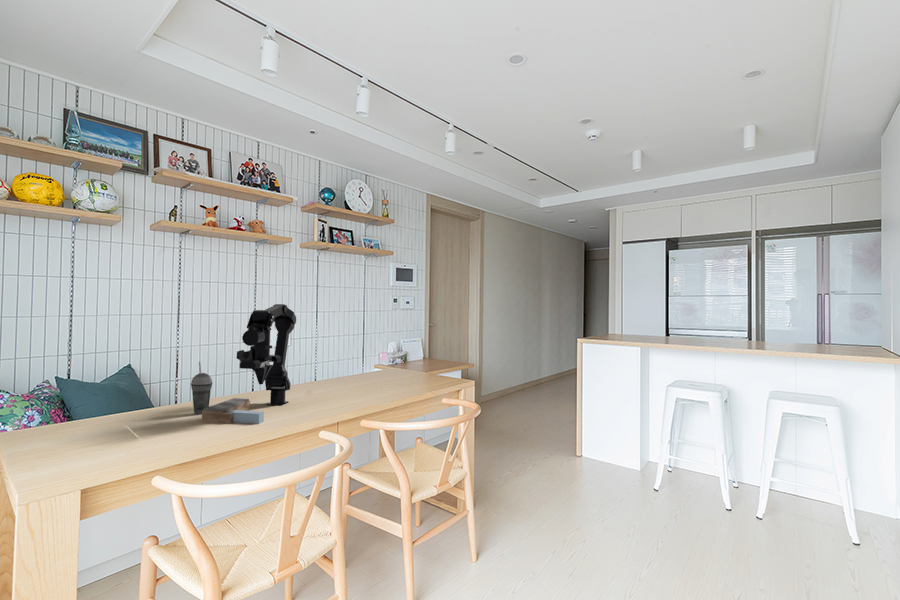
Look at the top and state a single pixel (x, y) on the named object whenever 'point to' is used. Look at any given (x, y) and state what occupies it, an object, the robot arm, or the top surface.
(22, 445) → the top surface
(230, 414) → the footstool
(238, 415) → the bar
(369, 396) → the top surface
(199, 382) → the beverage cup
